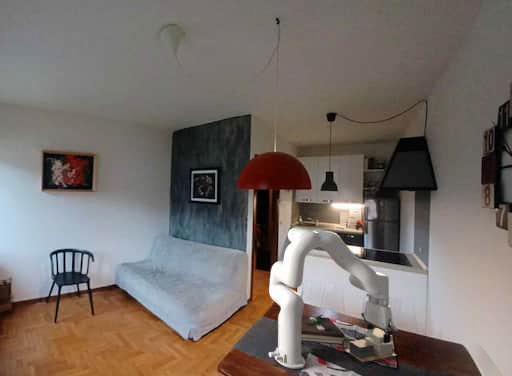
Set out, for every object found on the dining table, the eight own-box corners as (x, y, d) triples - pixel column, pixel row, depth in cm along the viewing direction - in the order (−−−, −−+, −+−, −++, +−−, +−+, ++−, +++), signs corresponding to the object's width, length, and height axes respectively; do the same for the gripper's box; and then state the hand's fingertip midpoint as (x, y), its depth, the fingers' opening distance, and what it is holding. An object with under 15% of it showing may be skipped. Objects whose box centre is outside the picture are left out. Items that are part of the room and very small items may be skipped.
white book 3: (379, 356, 118) (379, 351, 118) (364, 347, 125) (364, 342, 125) (392, 353, 120) (392, 348, 120) (377, 345, 127) (377, 340, 127)
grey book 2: (359, 358, 117) (360, 353, 117) (349, 351, 121) (349, 346, 121) (373, 355, 119) (373, 350, 119) (363, 349, 123) (363, 344, 123)
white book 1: (379, 343, 118) (379, 337, 118) (364, 334, 125) (364, 329, 125) (392, 340, 120) (392, 335, 120) (377, 332, 127) (377, 327, 127)
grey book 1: (360, 353, 117) (360, 347, 117) (349, 346, 121) (349, 341, 121) (373, 350, 119) (373, 345, 119) (363, 344, 123) (363, 339, 123)
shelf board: (362, 365, 114) (362, 361, 114) (344, 352, 123) (344, 349, 123) (396, 358, 119) (396, 355, 119) (376, 346, 128) (376, 343, 128)
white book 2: (379, 351, 118) (379, 345, 118) (364, 342, 125) (364, 337, 125) (392, 348, 120) (392, 343, 120) (377, 340, 127) (377, 335, 127)
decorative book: (275, 311, 149) (332, 315, 144) (275, 324, 149) (332, 329, 144) (285, 328, 130) (351, 334, 125) (285, 344, 130) (351, 350, 125)
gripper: (354, 293, 130) (354, 329, 130) (392, 309, 113) (392, 350, 113) (366, 292, 132) (366, 327, 132) (405, 307, 115) (405, 347, 115)
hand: (378, 337), depth 122 cm, fingers closed on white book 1, 6 cm apart
